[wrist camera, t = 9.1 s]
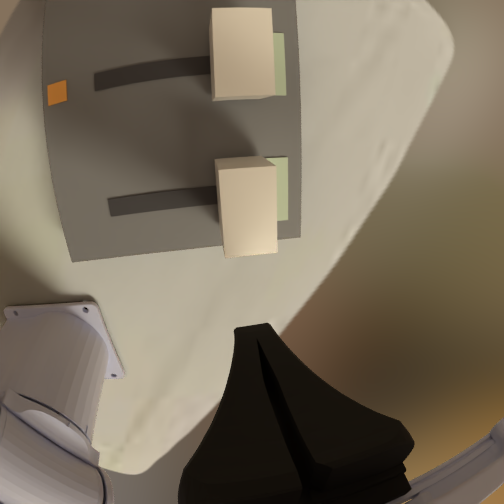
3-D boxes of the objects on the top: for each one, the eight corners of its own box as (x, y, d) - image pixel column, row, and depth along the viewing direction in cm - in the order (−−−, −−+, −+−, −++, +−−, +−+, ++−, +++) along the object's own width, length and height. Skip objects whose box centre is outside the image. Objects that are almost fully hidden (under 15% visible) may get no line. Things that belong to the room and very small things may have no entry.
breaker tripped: (212, 101, 14) (215, 97, 11) (209, 28, 12) (211, 8, 9) (260, 98, 14) (275, 95, 11) (257, 27, 12) (271, 8, 9)
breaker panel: (82, 248, 18) (71, 263, 16) (64, -32, 9) (52, -43, 7) (291, 225, 20) (300, 237, 18) (279, -59, 11) (288, -73, 9)
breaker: (220, 231, 17) (225, 258, 14) (214, 159, 15) (218, 170, 12) (263, 227, 17) (277, 252, 14) (261, 155, 15) (276, 165, 12)
